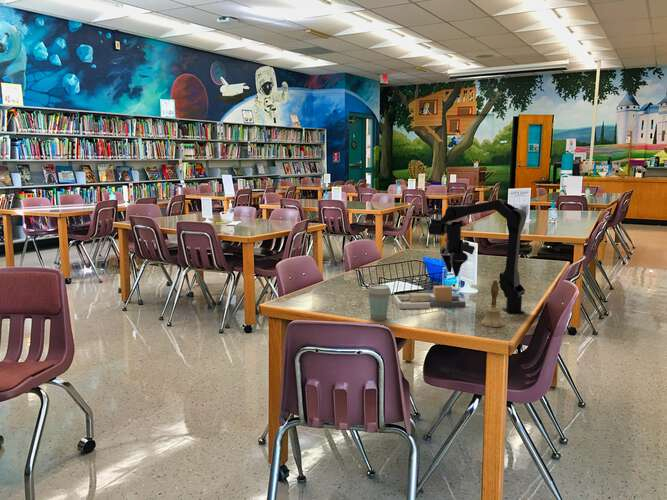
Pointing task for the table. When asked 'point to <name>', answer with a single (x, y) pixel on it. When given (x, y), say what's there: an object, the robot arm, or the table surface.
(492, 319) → the hand bell
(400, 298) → the tray
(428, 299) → the beige cube
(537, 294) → the table surface
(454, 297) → the slot rails
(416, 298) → the tan wooden cube
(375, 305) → the coffee cup
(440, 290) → the tan rectangular block
